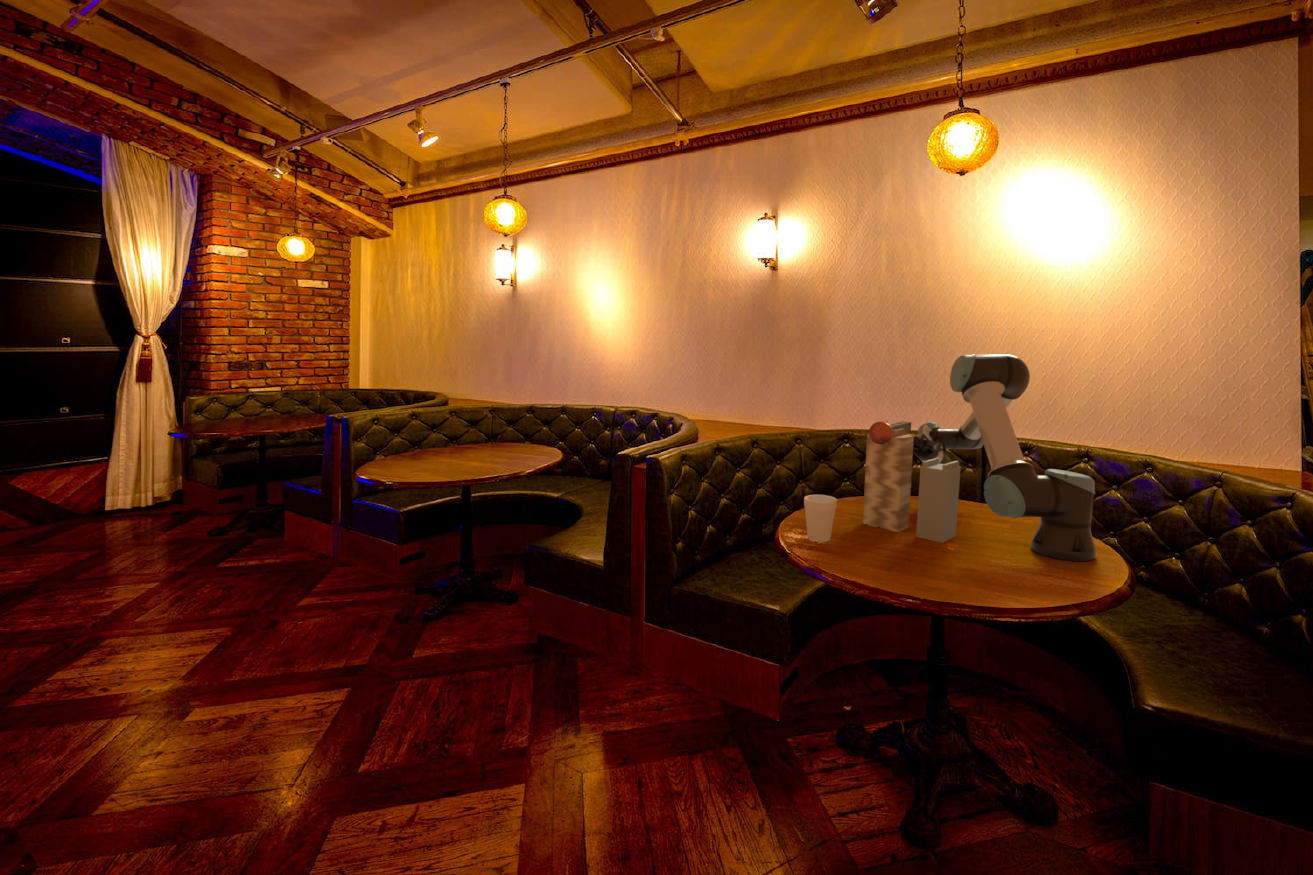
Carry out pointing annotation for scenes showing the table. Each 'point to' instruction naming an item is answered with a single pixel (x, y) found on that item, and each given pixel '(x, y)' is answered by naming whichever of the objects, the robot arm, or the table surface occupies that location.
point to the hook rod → (886, 431)
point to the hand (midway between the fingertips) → (903, 426)
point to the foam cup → (819, 516)
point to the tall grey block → (938, 500)
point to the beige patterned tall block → (888, 482)
